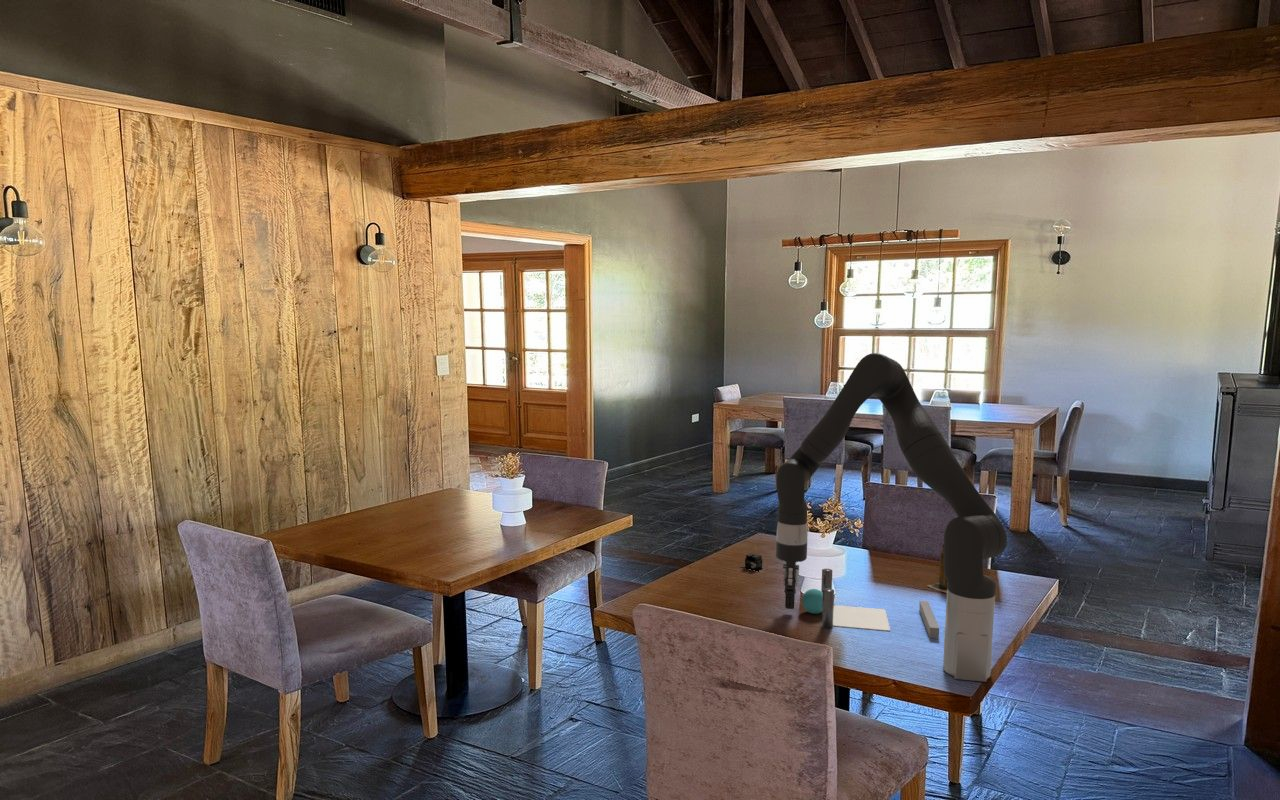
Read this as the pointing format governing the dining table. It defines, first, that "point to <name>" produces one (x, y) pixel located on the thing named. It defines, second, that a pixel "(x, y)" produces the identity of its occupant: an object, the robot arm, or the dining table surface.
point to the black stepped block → (755, 560)
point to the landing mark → (860, 618)
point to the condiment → (941, 576)
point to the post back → (826, 579)
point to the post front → (827, 608)
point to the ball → (813, 601)
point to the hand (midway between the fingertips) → (789, 607)
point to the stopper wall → (929, 619)
